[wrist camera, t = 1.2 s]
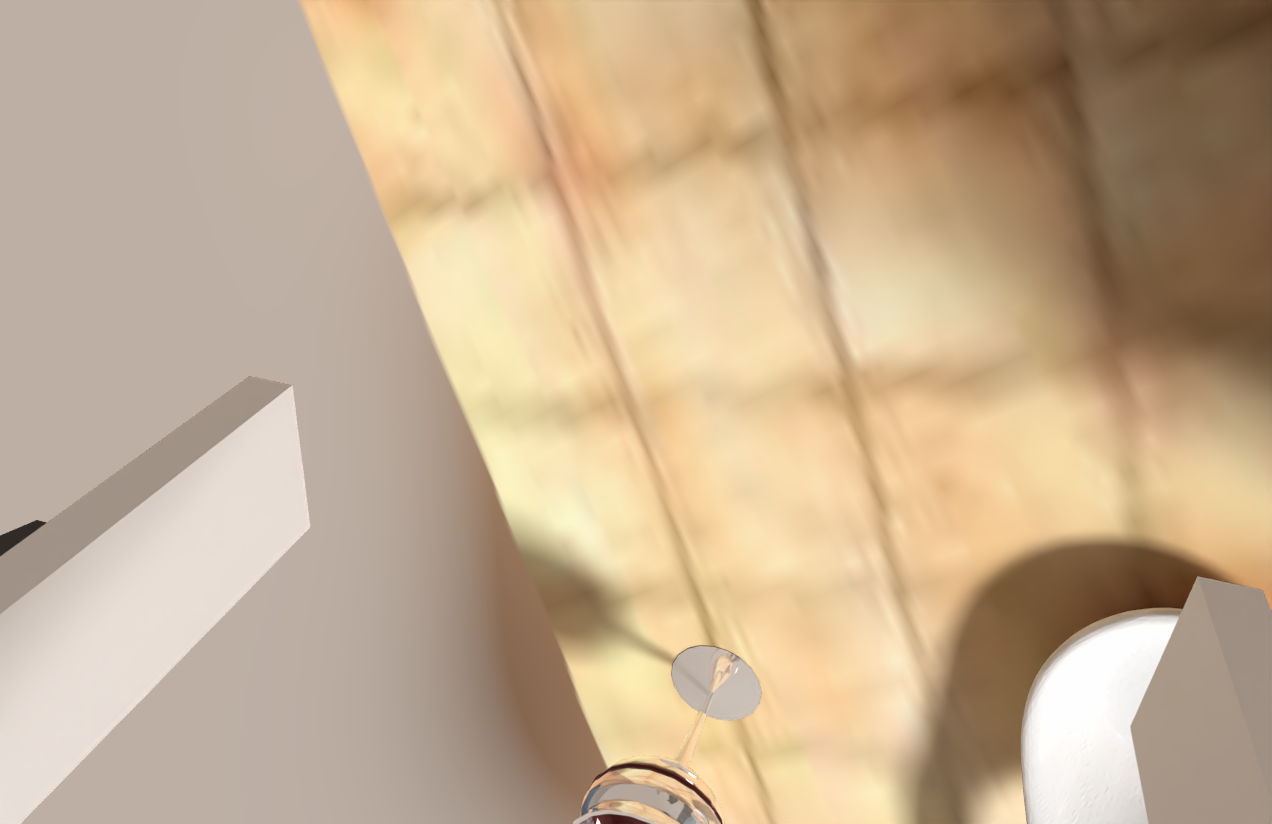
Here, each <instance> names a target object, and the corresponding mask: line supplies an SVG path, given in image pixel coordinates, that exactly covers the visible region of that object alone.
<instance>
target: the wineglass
mask: <svg viewBox="0 0 1272 824" xmlns="http://www.w3.org/2000/svg"><path fill="white" fill-rule="evenodd" d="M671 675H672V679H673V683H674V687H675V688H676V690H677V691H678V693H679V695H680V696H681V698H682V699H683V700H684V701H685V702H686V703H687V704H689V705H690V706H691V707H692V708H693V709H695V710H697V711H698V713H697V715H696V717H695V719H694V721H693V723H692V725H691V727H690V729H689V731H688V733H687V735H686V737H685V739H684V741H683V743H682V745H681V747H680V749H679V751H678V753H677V755H676V757H675V759H671V758H668V757H661V756H637V757H631V758H625V759H622V760H620V761H619V762H617V763H615V764H614V765H612V766H610V767H609V768H608V769H606V770H605V771H603V772H601V773H600V774H599V775H598V776H597V777H596V778H595V780H594V781H593V783H592V785H591V786H590V788H589V789H588V792H587V794H586V795H585V797H584V799H583V803H582V807H581V816H580V818H578V819H577V820H575V821H574V822H573V824H726V823H725V818H724V814H723V810H722V806H721V805H720V803H719V802H718V800H717V798H716V797H715V795H714V794H713V792H712V791H711V789H710V788H709V787H708V785H707V784H706V783H705V781H704V780H703V779H702V778H701V777H700V776H699V775H698V774H697V773H696V772H695V771H694V770H693V769H691V768H690V767H688V766H689V764H690V761H691V758H692V756H693V753H694V750H695V747H696V745H697V742H698V739H699V736H700V734H701V731H702V728H703V725H704V723H705V720H706V717H707V716H709V717H712V718H715V719H720V720H736V719H741V718H744V717H746V716H748V715H750V714H751V713H753V712H754V710H755V709H756V708H757V706H758V705H759V703H760V698H761V689H760V684H759V680H758V679H757V677H756V675H755V674H754V672H753V670H752V669H751V668H750V667H749V666H748V665H747V664H746V663H745V662H744V661H743V660H742V659H740V658H739V657H737V656H735V655H734V654H732V653H730V652H729V651H726V650H723V649H719V648H716V647H709V646H698V647H694V648H689V649H687V650H685V651H684V652H682V653H681V654H679V655H678V657H677V658H676V660H675V661H674V663H673V666H672V674H671Z"/></svg>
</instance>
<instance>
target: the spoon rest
mask: <svg viewBox="0 0 1272 824" xmlns="http://www.w3.org/2000/svg"><path fill="white" fill-rule="evenodd" d="M1182 610H1183V609H1178V608H1148V609H1139V610H1132V611H1127V612H1123V613H1119V614H1116V615H1112V616H1109V617H1106V618H1104V619H1101V620H1099V621H1096V622H1094V623H1092V624H1090V625H1088V626H1086V627H1084V628H1083V629H1081V630H1080V631H1078V632H1077V633H1075V634H1074V635H1072V636H1071V637H1070V638H1069V639H1067V640H1066V641H1065V642H1064V643H1063V644H1061V645H1060V646H1059V647H1058V648H1057V649H1056V650H1055V651H1054V652H1053V653H1052V654H1051V656H1050V657H1049V658H1048V659H1047V660H1046V661H1045V663H1044V664H1043V665H1042V667H1041V668H1040V670H1039V672H1038V674H1037V675H1036V677H1035V679H1034V681H1033V683H1032V686H1031V688H1030V691H1029V694H1028V697H1027V700H1026V704H1025V709H1024V714H1023V719H1022V729H1021V769H1022V781H1023V794H1024V802H1025V811H1026V821H1027V824H1149V823H1148V818H1147V812H1146V807H1145V802H1144V797H1143V792H1142V786H1141V781H1140V776H1139V771H1138V766H1137V760H1136V755H1135V750H1134V745H1133V740H1132V735H1131V729H1130V726H1131V724H1132V721H1133V719H1134V717H1135V715H1136V712H1137V710H1138V708H1139V706H1140V704H1141V701H1142V699H1143V697H1144V695H1145V692H1146V690H1147V688H1148V686H1149V683H1150V681H1151V679H1152V677H1153V674H1154V672H1155V670H1156V668H1157V666H1158V663H1159V661H1160V659H1161V657H1162V654H1163V652H1164V650H1165V648H1166V645H1167V643H1168V641H1169V639H1170V637H1171V634H1172V632H1173V630H1174V628H1175V625H1176V623H1177V621H1178V619H1179V616H1180V614H1181V612H1182Z"/></svg>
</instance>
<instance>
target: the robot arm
mask: <svg viewBox="0 0 1272 824" xmlns="http://www.w3.org/2000/svg"><path fill="white" fill-rule="evenodd" d="M309 528H310V522H309V513H308V506H307V498H306V489H305V481H304V473H303V466H302V458H301V450H300V442H299V434H298V427H297V418H296V411H295V403H294V395H293V387H292V385H289V384H284V383H280V382H275V381H270V380H265V379H260V378H256V377H251V376H249V377H248V378H246V379H245V380H243V381H242V382H240V383H239V384H238V385H236V386H235V387H234V388H232V389H231V390H229V391H228V392H227V393H225V394H224V395H223V396H221V397H220V398H219V399H217V400H216V401H214V402H213V403H212V404H210V405H209V406H207V407H206V408H205V409H203V410H202V411H200V412H199V413H198V414H196V415H195V416H194V417H192V418H191V419H189V420H188V421H187V422H185V423H184V424H183V425H181V426H180V427H178V428H177V429H176V430H174V431H173V432H171V433H170V434H169V435H167V436H166V437H165V438H163V439H162V440H161V441H159V442H158V443H156V444H155V445H154V446H152V447H151V448H149V449H148V450H147V451H146V452H144V453H143V454H141V455H140V456H139V457H137V458H136V459H134V460H133V461H131V462H130V463H129V464H127V465H126V466H125V467H123V468H122V469H121V470H119V471H118V472H116V473H115V474H114V475H112V476H111V477H109V478H108V479H107V480H105V481H104V482H102V483H101V484H100V485H98V486H97V487H96V488H94V489H93V490H92V491H90V492H89V493H87V494H86V495H85V496H83V497H82V498H80V499H79V500H78V501H76V502H75V503H73V504H72V505H71V506H69V507H68V508H67V509H65V510H64V511H62V512H61V513H60V514H58V515H57V516H56V517H54V518H53V519H52V520H50V521H49V522H47V523H46V522H42V521H38V520H36V521H34V522H31V523H29V524H27V525H24V526H22V527H20V528H17V529H15V530H12V531H10V532H8V533H5V534H3V535H1V536H0V824H21V823H22V822H23V820H25V818H26V817H27V816H28V815H29V814H30V813H31V812H32V811H33V810H34V809H35V808H36V807H37V806H38V805H39V804H40V803H41V802H42V801H43V800H44V799H45V798H46V797H47V796H48V795H49V794H50V793H51V792H52V791H53V790H54V789H55V788H56V787H57V786H58V785H59V784H60V783H61V782H62V781H63V780H64V779H65V778H66V777H67V775H68V774H69V773H70V772H71V771H72V770H73V769H74V768H75V767H76V766H77V765H78V764H79V763H80V762H81V761H82V760H83V759H84V758H85V757H86V756H87V755H88V754H89V753H90V752H91V751H92V750H93V749H94V748H95V747H96V746H97V745H98V744H99V743H100V742H101V741H102V740H103V739H104V738H105V737H106V735H107V734H109V733H110V731H111V730H112V729H113V728H114V727H115V726H116V725H117V724H118V723H119V722H120V721H121V720H122V719H123V718H124V717H125V716H126V715H127V714H128V713H129V712H130V711H131V710H132V709H133V708H134V707H135V706H136V705H137V704H138V703H139V702H140V701H141V700H142V699H143V698H144V697H145V696H146V695H147V693H148V692H150V691H151V690H152V689H153V687H154V686H155V685H156V684H157V683H158V682H159V681H160V680H161V679H162V678H163V677H164V676H165V675H166V674H167V673H168V672H169V671H170V670H171V669H172V668H173V667H174V666H175V665H176V664H177V663H178V662H179V661H180V660H181V659H182V658H183V657H184V656H185V655H186V654H187V653H188V652H189V651H190V650H191V649H192V648H193V647H194V645H195V644H196V643H197V642H198V641H199V640H200V639H201V638H202V637H203V636H204V635H205V634H206V633H207V632H208V631H209V630H210V629H211V628H212V627H213V626H214V625H215V624H216V623H217V622H218V621H219V620H220V619H221V618H222V617H223V616H224V615H225V614H226V613H227V612H228V611H229V610H230V609H231V608H232V607H233V606H234V604H236V603H237V601H238V600H239V599H240V598H241V597H242V596H243V595H244V594H245V593H246V592H247V591H248V590H249V589H250V588H251V587H252V586H253V585H254V584H255V583H256V582H257V581H258V580H259V579H260V578H261V577H262V576H263V575H264V574H265V573H266V572H267V571H268V570H269V569H270V568H271V567H272V566H273V565H274V564H275V563H276V562H277V561H278V559H280V557H281V556H282V555H283V554H284V553H285V552H286V551H287V550H288V549H289V548H290V547H291V546H292V545H293V544H294V543H295V542H296V541H297V540H298V539H299V538H300V537H301V536H302V535H303V534H304V533H305V532H306V531H307V530H308V529H309ZM1130 729H1131V735H1132V740H1133V745H1134V750H1135V755H1136V760H1137V766H1138V771H1139V776H1140V781H1141V786H1142V792H1143V797H1144V802H1145V807H1146V812H1147V818H1148V823H1149V824H1272V612H1271V609H1270V607H1269V604H1268V602H1267V599H1266V597H1265V595H1264V592H1263V590H1261V589H1256V588H1251V587H1246V586H1242V585H1237V584H1232V583H1227V582H1223V581H1218V580H1213V579H1208V578H1204V577H1199V576H1197V579H1196V581H1195V583H1194V585H1193V587H1192V590H1191V592H1190V594H1189V596H1188V599H1187V601H1186V603H1185V605H1184V608H1183V610H1182V612H1181V614H1180V616H1179V619H1178V621H1177V623H1176V625H1175V628H1174V630H1173V632H1172V634H1171V637H1170V639H1169V641H1168V643H1167V645H1166V648H1165V650H1164V652H1163V654H1162V657H1161V659H1160V661H1159V663H1158V666H1157V668H1156V670H1155V672H1154V674H1153V677H1152V679H1151V681H1150V683H1149V686H1148V688H1147V690H1146V692H1145V695H1144V697H1143V699H1142V701H1141V704H1140V706H1139V708H1138V710H1137V712H1136V715H1135V717H1134V719H1133V721H1132V724H1131V726H1130Z"/></svg>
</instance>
